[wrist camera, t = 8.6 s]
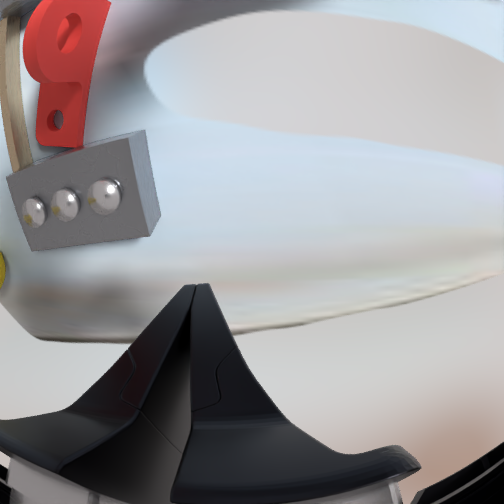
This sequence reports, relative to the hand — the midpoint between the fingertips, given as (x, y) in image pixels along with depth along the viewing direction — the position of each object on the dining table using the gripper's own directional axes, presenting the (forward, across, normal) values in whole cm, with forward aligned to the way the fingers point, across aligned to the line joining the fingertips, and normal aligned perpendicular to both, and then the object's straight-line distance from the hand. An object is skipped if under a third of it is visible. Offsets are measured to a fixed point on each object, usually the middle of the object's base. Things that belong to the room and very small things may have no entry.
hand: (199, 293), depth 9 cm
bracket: (+13, +11, -11) cm, 20 cm away
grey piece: (+13, +11, -12) cm, 21 cm away
